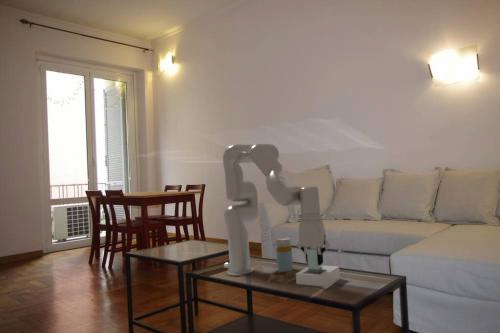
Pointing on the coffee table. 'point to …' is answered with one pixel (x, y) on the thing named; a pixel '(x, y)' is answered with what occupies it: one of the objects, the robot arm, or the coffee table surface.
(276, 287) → the coffee table surface
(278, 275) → the square wooden tray
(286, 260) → the bottle
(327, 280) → the panel
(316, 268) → the plug
